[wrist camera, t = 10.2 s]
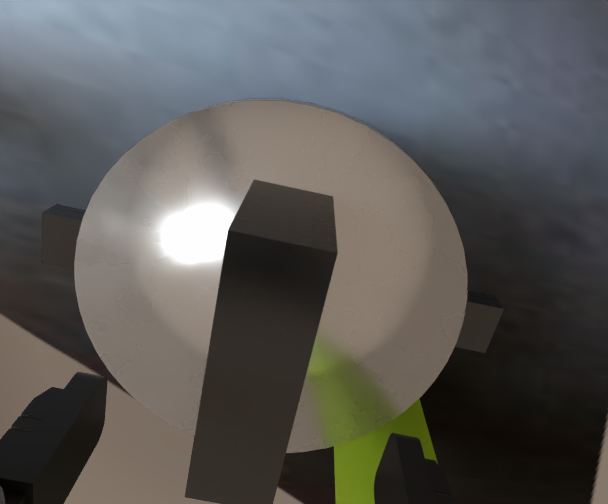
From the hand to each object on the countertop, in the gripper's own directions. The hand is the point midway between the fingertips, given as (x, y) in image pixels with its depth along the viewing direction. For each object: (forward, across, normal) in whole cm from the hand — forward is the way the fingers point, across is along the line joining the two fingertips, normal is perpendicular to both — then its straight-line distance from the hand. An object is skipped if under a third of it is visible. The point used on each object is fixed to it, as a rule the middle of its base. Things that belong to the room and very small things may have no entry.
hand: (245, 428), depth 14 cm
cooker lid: (+8, 0, 0) cm, 8 cm away
